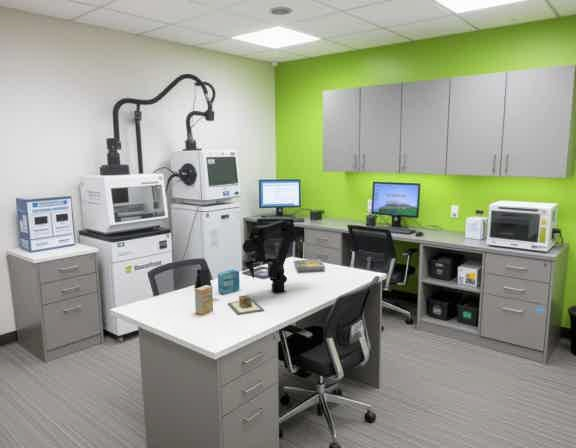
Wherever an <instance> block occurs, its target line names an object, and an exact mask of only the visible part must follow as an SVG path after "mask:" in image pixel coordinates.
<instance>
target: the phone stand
mask: <svg viewBox="0 0 576 448" xmlns="http://www.w3.org/2000/svg"><path fill="white" fill-rule="evenodd" d="M210 279H211V278H210V275H209V268H207V267H203V268H199V269H197V270H196V278H195V283H194V289H196V288H199V287H202V286H205V285H209V286H212V282H211V280H210Z"/></svg>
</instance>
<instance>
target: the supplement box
mask: <svg viewBox="0 0 576 448" xmlns="http://www.w3.org/2000/svg"><path fill="white" fill-rule="evenodd" d="M213 291H214V290H213V286H212V285H211V286H209V285H205V286H202V287H199V288H194V300H195V301H194V304H195V305H194V307H195V315H200V316H204V315H206V314H208V313H210V312H213V311H214V300H213V299H214V298H213V297H214V296H213Z"/></svg>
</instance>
